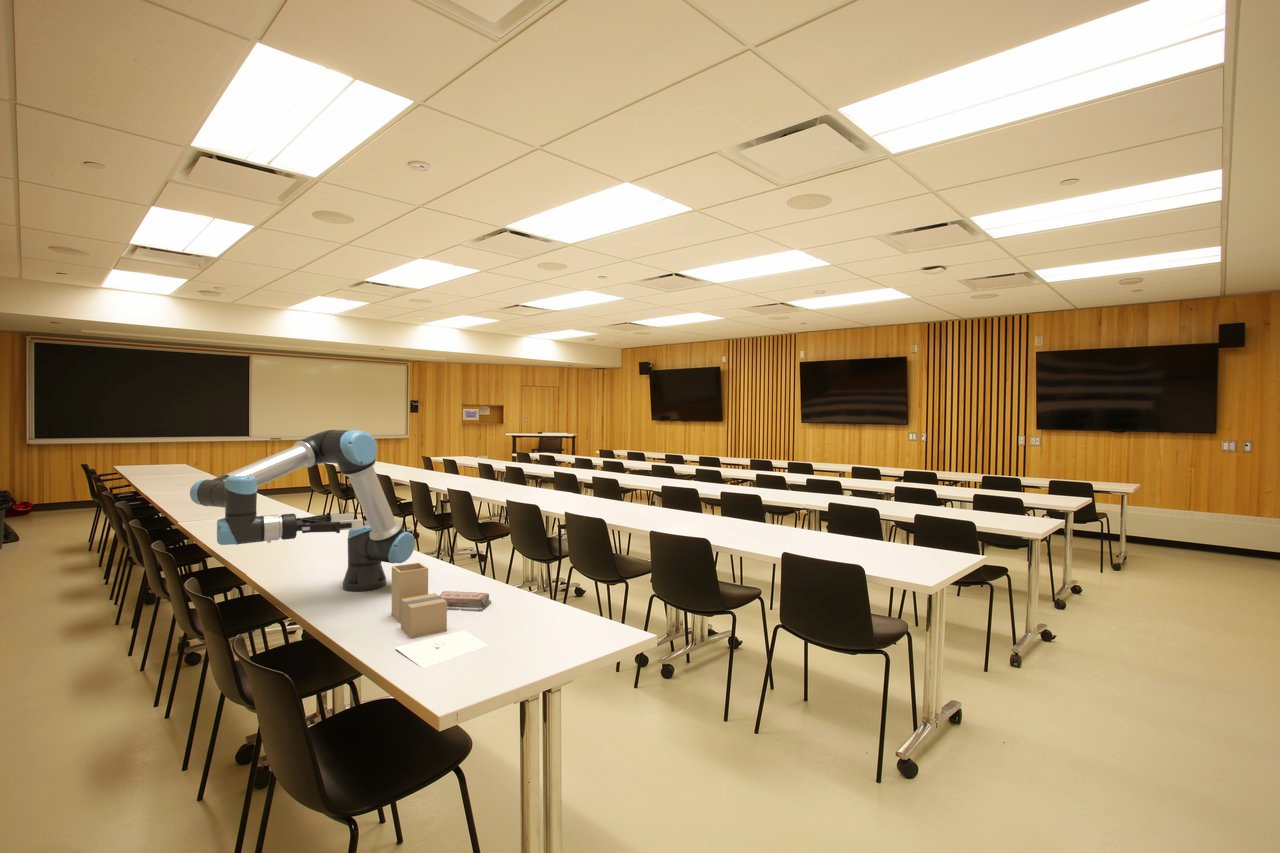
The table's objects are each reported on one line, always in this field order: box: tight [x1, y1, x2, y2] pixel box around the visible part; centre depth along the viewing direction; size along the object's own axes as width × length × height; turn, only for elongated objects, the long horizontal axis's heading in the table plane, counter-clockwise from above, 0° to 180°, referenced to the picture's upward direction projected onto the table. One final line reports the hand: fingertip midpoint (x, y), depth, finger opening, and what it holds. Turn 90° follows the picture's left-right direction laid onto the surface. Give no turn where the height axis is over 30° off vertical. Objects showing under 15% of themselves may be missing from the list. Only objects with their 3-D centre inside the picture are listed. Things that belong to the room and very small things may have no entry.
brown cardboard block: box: [400, 592, 448, 639], centre depth 183 cm, size 11×11×9 cm
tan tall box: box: [391, 562, 429, 623], centre depth 195 cm, size 9×9×16 cm
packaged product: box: [439, 590, 492, 612], centre depth 206 cm, size 18×5×10 cm
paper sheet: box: [394, 629, 489, 669], centre depth 164 cm, size 24×29×1 cm
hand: (358, 520), depth 190 cm, fingers open, 13 cm apart
